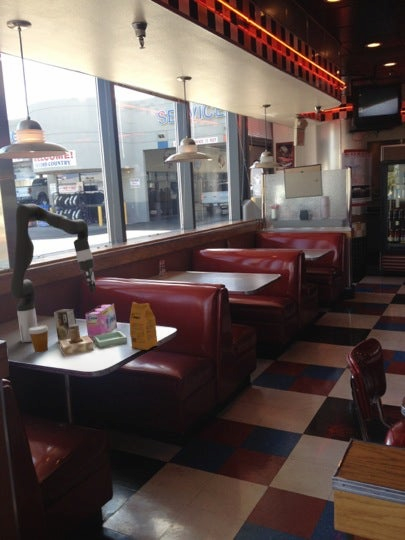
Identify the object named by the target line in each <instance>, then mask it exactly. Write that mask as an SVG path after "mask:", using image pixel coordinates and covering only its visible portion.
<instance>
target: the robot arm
mask: <svg viewBox="0 0 405 540" xmlns="http://www.w3.org/2000/svg"><path fill="white" fill-rule="evenodd" d="M15 218H16V219H15V223H16V226H15V227H16V229H15V232H16V233H15V236H16V237H15V246H14V247H15V248H14V262H13V269H12V270H13V272H12V276H11V281H10V289H9V291H10V294H11V296H12V297H13V299H16V300H17V299H18V300H19V299H21V300H20V301H19V302H18V304H17V305H16V311H17V312H16V313H17V319H18V328H19V334H20V339H21V340H20V341H21V343H30V342H31V343H32V340H31V336H30V334H29V332H28V331H29V328H31V327H34V326H38V321H37V320H38V319H37V313H36V308H35V305H36V296H35V288H34V287H35V286H34V284H33V281H31V280H30V279H25V276H26V273H27V271H28V269H29V267H30V265H31V264H32V262H33V260H34V250H35V246H34V242H33V241H32V239H31V237H30V234H29V223H33V222H38V221H39V222H44V223H47V224H48V226H50V227H52V228H55V229H57V230H61V231H63V232H65V233H67V234H69V235H74V236H77V239H75V240H74V241H73V246H74V251H75V254H76V260H77V264H78V268H79V270H80V271H84V273H83V274H84V277H85V281H86V285H87V286H88V290H89V293H94V292H95V291H96V290H97V286H96V279H95V274H94V270H93V269H92V268H95V267H96V266H95V265H96V264H95V261H94V257H93V253H92V250H91V246H90V244H89V227H88V224H87V222H86V221H85V220H84V219H70V218H69V216H66V215H63V214H59V213H55V212H51V211H49V210H47V209H45V208H44V207H41V206H40V205H38V204H35V203H24V204H19V205H18V206H17V208H16V212H15Z"/></svg>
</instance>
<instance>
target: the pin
mask: <svg viewBox="0 0 405 540" xmlns="http://www.w3.org/2000/svg"><path fill="white" fill-rule="evenodd" d="M79 326H80V325H79V324H78V323H76V324H75V325H70V326H69V330H70V337H71V344H73V343H78V342H81V340H80V337H81V334H80V327H79Z"/></svg>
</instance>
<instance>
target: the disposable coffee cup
mask: <svg viewBox="0 0 405 540" xmlns="http://www.w3.org/2000/svg"><path fill="white" fill-rule="evenodd" d="M48 331H49V328H48V326H47V325H45V324H43V325H42V324H40V325H37V326H34V327H31V328H29V331H28V332H29V334H30V336H31V340H32V341H31V343H32V346H33V349H34V353H37V352H39V353H44V352H46V351H48V350H49V347H48V346H49V343H48V342H49V341H48V340H49V339H48V338H49V336H48V335H49V334H48V333H49V332H48Z"/></svg>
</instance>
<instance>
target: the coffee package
mask: <svg viewBox="0 0 405 540" xmlns="http://www.w3.org/2000/svg"><path fill="white" fill-rule="evenodd" d="M150 306H151V303H148V302H147V303H137V302H135V301H132V304H131V307H130V310H131V311H130V316H129V335H130V340H131V341H130V342H131V343H130V344H131V349H137V350H139V351H149V350H150V349H151V348H153V347H155V346H157V345H158V343H159V342H158V336H157V326H156V325H157V324H156V317H155V314H154V313H153V310H152V309H151V307H150Z"/></svg>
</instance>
